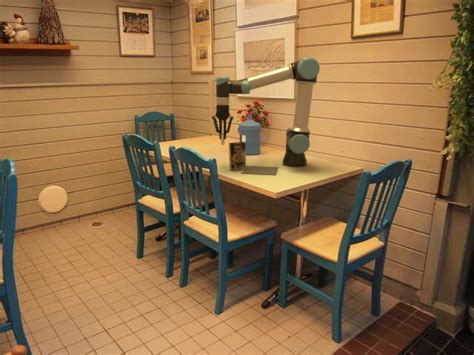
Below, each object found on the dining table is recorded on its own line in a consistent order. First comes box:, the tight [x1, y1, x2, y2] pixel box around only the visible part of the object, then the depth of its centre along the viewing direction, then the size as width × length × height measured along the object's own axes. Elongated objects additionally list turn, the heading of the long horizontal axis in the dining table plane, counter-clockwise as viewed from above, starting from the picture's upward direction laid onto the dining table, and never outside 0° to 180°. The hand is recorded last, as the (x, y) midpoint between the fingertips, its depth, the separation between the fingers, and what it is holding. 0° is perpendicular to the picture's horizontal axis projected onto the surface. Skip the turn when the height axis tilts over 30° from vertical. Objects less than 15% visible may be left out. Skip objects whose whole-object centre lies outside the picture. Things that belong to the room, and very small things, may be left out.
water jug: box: [238, 113, 262, 156], centre depth 271 cm, size 16×16×28 cm
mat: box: [241, 165, 279, 176], centre depth 227 cm, size 20×18×1 cm
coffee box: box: [228, 141, 247, 172], centre depth 227 cm, size 9×6×16 cm
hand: (222, 144), depth 227 cm, fingers closed
